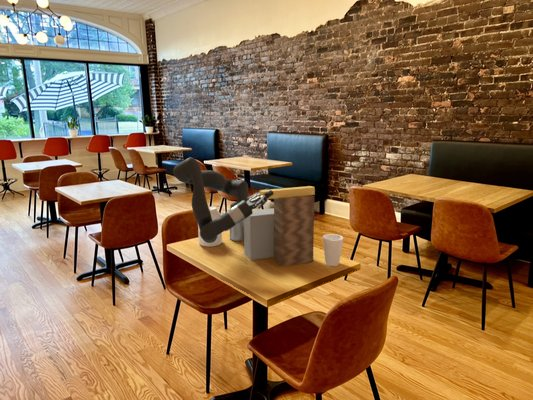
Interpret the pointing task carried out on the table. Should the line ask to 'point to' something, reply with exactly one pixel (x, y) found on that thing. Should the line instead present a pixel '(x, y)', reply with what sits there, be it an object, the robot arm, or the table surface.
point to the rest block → (259, 234)
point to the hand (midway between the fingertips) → (270, 190)
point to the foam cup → (332, 248)
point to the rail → (290, 192)
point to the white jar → (218, 241)
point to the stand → (293, 230)
